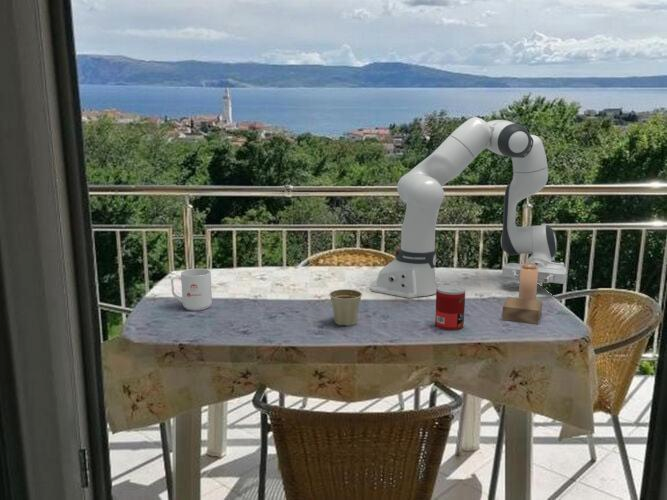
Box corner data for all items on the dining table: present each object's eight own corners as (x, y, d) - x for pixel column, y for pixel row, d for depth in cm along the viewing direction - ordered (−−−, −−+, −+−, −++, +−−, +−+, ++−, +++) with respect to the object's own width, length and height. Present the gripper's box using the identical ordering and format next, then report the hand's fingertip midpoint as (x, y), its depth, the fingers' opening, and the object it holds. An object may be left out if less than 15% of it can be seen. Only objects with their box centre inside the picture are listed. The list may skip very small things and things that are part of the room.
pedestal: (502, 319, 187) (502, 306, 186) (507, 309, 196) (507, 297, 195) (537, 324, 183) (538, 310, 183) (541, 313, 192) (542, 300, 192)
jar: (517, 306, 199) (519, 265, 196) (519, 301, 204) (521, 262, 201) (534, 308, 197) (537, 267, 194) (536, 303, 202) (539, 263, 199)
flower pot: (351, 330, 178) (351, 300, 177) (323, 324, 183) (322, 295, 181) (368, 320, 186) (368, 292, 184) (340, 315, 191) (340, 287, 189)
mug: (213, 302, 204) (211, 268, 201) (210, 311, 195) (209, 275, 193) (174, 303, 203) (172, 269, 200) (170, 312, 194) (168, 276, 191)
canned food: (463, 331, 178) (465, 293, 175) (434, 329, 179) (435, 291, 177) (463, 322, 185) (465, 285, 183) (435, 320, 187) (437, 283, 184)
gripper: (506, 256, 222) (498, 265, 210) (569, 263, 214) (564, 272, 201) (505, 274, 224) (497, 284, 211) (567, 281, 215) (562, 292, 203)
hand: (530, 278), depth 206 cm, fingers open, 8 cm apart
